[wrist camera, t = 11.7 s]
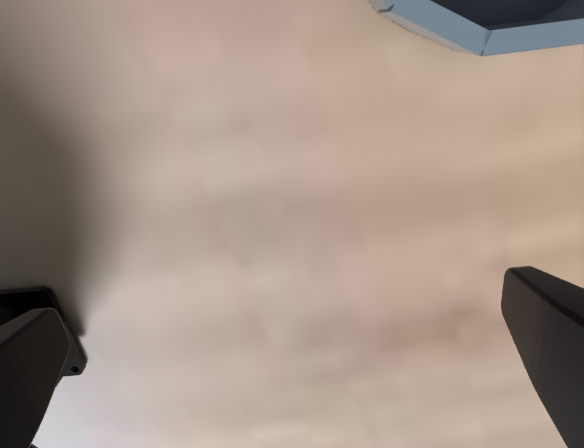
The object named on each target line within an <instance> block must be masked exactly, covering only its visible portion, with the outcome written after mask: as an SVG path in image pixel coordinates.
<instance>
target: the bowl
mask: <svg viewBox="0 0 584 448" xmlns="http://www.w3.org/2000/svg"><path fill="white" fill-rule="evenodd" d="M368 2H369V3H370V5H371V7H372V8H373V10H374V11H376V10H378V11H377V14H379V15H381V16H383V17H385V18H387V19H389V20H391V21H392V22H394V23H396V24H397V25H399V26H401V27H402V28H404V29H406V30H407V31H409V32H412V33H414V34H417V35H419V36H422V37H424V38H427V39H430V40H432V41H434V42H436V43H438V44H440V45H442V46H444V47H446V48H448V49H450V50H453V51H458V52H463V53H468V54H473V55H478V56H490V55H498V54H506V53H514V52H522V51H530V50H538V49H546V48H554V47H562V46H570V45H578V44H584V0H368Z"/></svg>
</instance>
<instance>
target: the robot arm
mask: <svg viewBox="0 0 584 448" xmlns="http://www.w3.org/2000/svg"><path fill="white" fill-rule="evenodd" d="M41 294H42V295H44V296H45V297H44V296H42V295H41ZM501 310H502V314H503V317H504V319H505V322H506V324H507V326H508V329H509V331H510V333H511V336H512V338H513V340H514V343H515V345H516V347H517V350H518V352H519V354H520V357H521V359H522V361H523V364H524V366H525V369H526V371H527V373H528V376H529V378H530V380H531V382H532V384H533V386H534V388H535V390H536V392H537V394H538V396H539V398H540V400H541V401H542V403H543V405H544V407H545V408H546V410H547V412H548V414H549V415H550V417H551V419H552V421H553V423H554V424H555V426H556V428H557V430H558V431H559V433H560V435H561V437H562V438H563V440H564V442H565V444H566V446H567V447H568V448H584V288H581V287H579V286H576V285H574V284H572V283H569V282H567V281H565V280H562V279H560V278H558V277H555V276H553V275H550V274H548V273H546V272H543V271H541V270H539V269H536V268H534V267H531V266H523V267H512V268H509V269H507V270H506V272H505V275H504V283H503V291H502V299H501ZM85 367H86V364H85V362H84V360H83V357H82V355H81V353H80V351H79V349H78V346H77V344H76V342H75V340H74V337H73V335H72V333H71V331H70V329H69V326H68V324H67V322H66V320H65V317H64V315H63V313H62V311H61V309H60V306H59V304H58V302H57V300H56V297H55V295H54V293H53V292H52V290H51V289H49V288H47V287H32V288H22V289H11V290H0V448H38V447H36V446H35V445H33V444H31V443H32V441H33V439H34V437H35V435H36V433H37V431H38V429H39V427H40V424H41V422H42V420H43V418H44V415H45V413H46V410H47V408H48V405H49V403H50V400H51V397H52V395H53V392H54V390H55V387H56V386H57V385H58V383H59V382H60V380H61V379H62V377H63V376H74V375H80V374H82V373H83V371H84V369H85Z"/></svg>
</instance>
